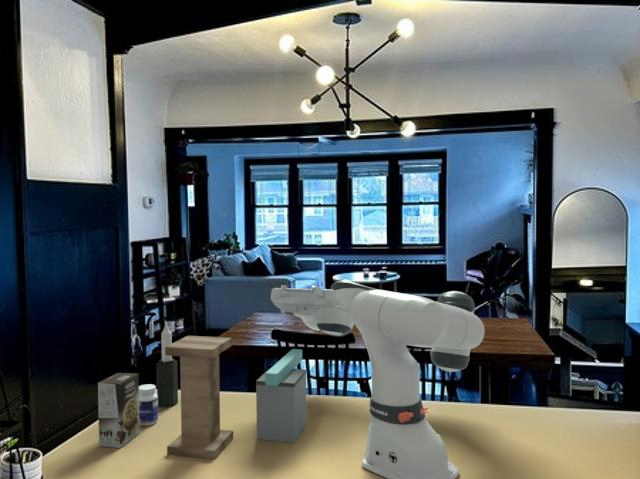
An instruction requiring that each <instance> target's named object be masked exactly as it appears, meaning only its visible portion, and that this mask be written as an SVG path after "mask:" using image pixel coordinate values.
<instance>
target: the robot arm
mask: <svg viewBox="0 0 640 479" xmlns="http://www.w3.org/2000/svg"><path fill="white" fill-rule="evenodd" d="M270 301H271V302H272V304H274V306H276V307H277V308H278V309H280V312H281V313H282V314H285V315H291V316H295V317H297V318H301V320H302V322H303V323H304V324H305V326H306V327H308V328H309V329H312V330H314V331H320V332H321V333H322V334H324V335H326V336H330V337H335V338H340V337H344V336H346V335H348V334H349V333H351V332H352V330H353V328H354V326H356V328H357V329H358V331H359V332H360V335H361V336H362V339H363V341H364V344H365V347H366V349H367V353H368V358H369V361H370V370H371V371H370V372H371V396H370V398H369V413H370V415H371V417H370V421H369V426H368V428H367V433H366V434H367V436H366V445H365V452H364V458H363V460H362V462H361V466H362V468H363V469H366V470H368V471H371V472H373V473H375V474H377V475H379V476H382V477H384V478H385V479H456V478H457V477H458V476H459V474H460V470H459V468H458V467H457V465H455V464H453V463H452V462H450V461H449V459H448V450H447V446H446V444H445V443H444V441H443V439H442V436H441V435H440V434H438V433H437V432H436V430H435V429H434V428H433V427H432V426H431V424H430V423H429V422H428V420H427V419H426V414H427V413H428V414H429V411H428V410H429V408H428V407H424V405H423V401H422V399H421V398H420V396H421V394H420V390H421V388H420V385H421V384H420V383H421V380H420V379H421V376H420V375H421V374H420V372H421V371H420V370H421V369H420V366H419V363H418V362H417V360H416V359H415V358H414V356H413V355H412V354H411V353H410V351H409V349H408V347H407V346H412V347H419V348H431V350H430V351H429V353H430V359H431V363H432V364H433V365H434V366H435V367H437V368H439V369H441V370H442V371H445V372H450V373H452V372H453V373H454V372H459V371H461V370H462V371H463V370H464V369H466V368H468V365H469V362H470V358H471V356H470V352H471V349H475V348H476V347H478V346H479V345H480V344H481V343H482V341H483V340H484V337H485V334H486V333H485V332H486V331H485V326H484V322H483V321H482V320H481V319H480V318H479V317H478V315H476V314H475V311H476V306H475V302H474V299H473V298H472V297H471V295H468V294H466V292H465V293H464V292H462V291H457V290H451V291H447V292H443V293H441V294H440V295H439V296H438V298H437V301H435V300H432V299H430V298H428V297H425V296H422V295H421V296H420V295H415V294H411V293H410V294H409V293H402V292H395V291H390V290H385V289H379V288H378V289H377V288H375V287H369V286H367V285H363V284H360V283H357V282H355V281H353V280H349V279H345V278H341V279H338V280H336V281H335V282H334V283H332V284H331V286H330V289H329V288H328V289H327V288H325V289H324V288H323V289H322V288H320V287H319V286H317V285H312V288H288V286H287V284H283V285H282V284H281V286H280V287H274V288H272V289H271V292H270Z"/></svg>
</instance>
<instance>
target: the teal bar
mask: <svg viewBox="0 0 640 479" xmlns="http://www.w3.org/2000/svg"><path fill="white" fill-rule="evenodd" d="M302 361H303V349H298V348H292V349H290V350H289V351H288V352H287V353H286V354H285V355H284V356H283V357H281V359H280V360H278V361H277V362H276V363H275V364H274V365H273V366H272V367H270V368H271V369H270V368H269V369H270V370H268V369H267V370H268V371H267V370H266V371H267V372H266V371H265V372H266V373H265V372H264V373H265V374H266V385H271V386H278V385H279V384H280V383H281V381H282V380H283V379H284V378H285V377H286V376H287V375H288V374H289V373H290V372H291V371H292V370H293V369H296V367H297V366H298V365H299V364H300V363H302Z"/></svg>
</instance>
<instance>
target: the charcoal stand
mask: <svg viewBox="0 0 640 479" xmlns="http://www.w3.org/2000/svg"><path fill="white" fill-rule="evenodd" d="M271 368H272V367H270V368H268V369H267V370H266V371H265V372H264V373H263V374H261V375H260V377H258V379H257V380H256V381H255V384H256V386H255V390H256V391H255V392H256V393H255V395H256V398H255V399H256V400H255V401H256V405H255V406H256V407H255V408H256V440H266V441H275V442H276V441H277V442H289V443H296V441H297V439H298V438H299V437H300V435H301V433H302V431H303V429H305V427H306V425H307V370H306V369H300V368H299V369H298V368H294V369H293V370H292V371H291V372H290V373H289V374H288V375H287V376H286V377H285V378H284V379H283V380H282V381H281V383H280V384H279V385H278V386H271V385H266V374H265V373H266V372H267V371H268V370H270V369H271Z"/></svg>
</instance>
